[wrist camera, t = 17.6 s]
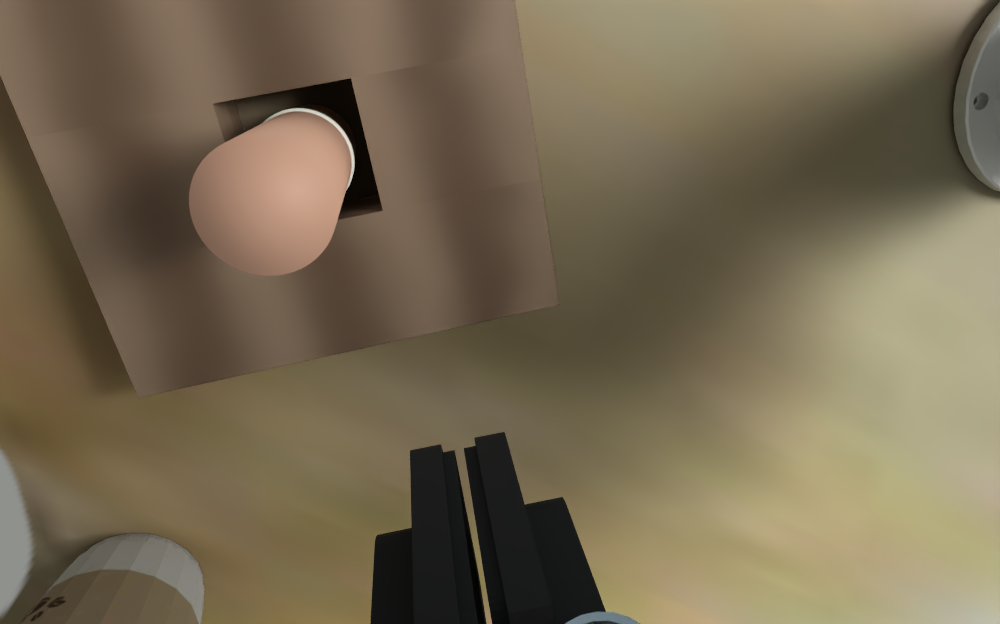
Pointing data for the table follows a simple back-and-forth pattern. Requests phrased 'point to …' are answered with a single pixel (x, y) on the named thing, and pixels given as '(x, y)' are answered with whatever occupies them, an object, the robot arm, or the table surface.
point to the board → (214, 120)
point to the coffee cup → (125, 585)
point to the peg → (275, 191)
